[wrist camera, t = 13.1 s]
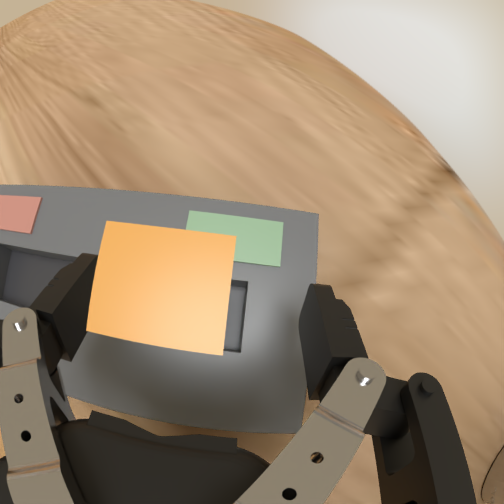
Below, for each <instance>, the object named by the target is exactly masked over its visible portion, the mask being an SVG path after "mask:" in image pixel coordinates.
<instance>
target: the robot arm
mask: <svg viewBox="0 0 504 504" xmlns="http://www.w3.org/2000/svg"><path fill="white" fill-rule="evenodd" d="M97 260H98V255H95V254H89V253H81V254H80V255H79V257H78V258H77V259H76V260H75V261H74V262H73V263H70V264H68V265H67V266H65V267H63V268H62V269H60V270H59V271H58V273H57V274H56V275H55V276H54V277H53V279H52V280H51V281H50V282H49V283H48V286H46V287H45V288H44V289H43V290H42V292H41V293H40V294H39V295H38V297H37V298H36V299H35V300H34V302H33V303H32V304H31V305H30V307H29V308H18V309H15V310H13V311H11V312H10V313H9V314H8V315H7V316H6V317H5V319H0V428H1V434H2V439H3V444H4V449H5V454H6V456H4V457H2V458H1V459H0V504H323V503H324V502H325V501H326V499H327V498H328V496H329V495H330V493H331V492H332V490H333V489H334V487H335V486H336V484H337V483H338V481H339V480H340V478H341V477H342V475H343V473H344V472H345V470H346V468H347V467H348V465H349V463H350V462H351V460H352V458H353V457H354V455H355V453H356V451H357V450H358V448H359V446H360V444H361V442H362V440H363V438H364V436H365V434H369V435H372V440H373V446H374V452H375V458H376V465H377V471H378V479H379V486H380V494H381V503H382V504H476V498H475V494H474V489H473V485H472V480H471V476H470V472H469V468H468V465H467V461H466V457H465V454H464V450H463V447H462V444H461V440H460V437H459V434H458V431H457V428H456V425H455V422H454V419H453V416H452V413H451V411H450V408H449V405H448V402H447V400H446V397H445V394H444V392H443V389H442V387H441V385H440V383H439V382H438V381H437V379H435V378H434V377H433V376H431V375H429V374H427V373H416V374H414V375H413V376H411V378H410V379H409V380H408V381H403V380H399V379H395V378H391V377H387V376H386V375H385V372H384V370H383V369H382V367H381V366H380V365H379V364H377V363H376V362H374V361H373V360H370V359H369V358H368V356H367V353H366V350H365V347H364V344H363V342H362V339H361V336H360V333H359V331H358V329H357V325H356V323H355V321H354V317H353V315H352V312H351V309H350V308H349V307H348V306H347V305H346V304H345V302H344V301H343V300H340V299H336V298H335V295H334V293H333V290H332V287H331V286H330V285H322V284H313V283H311V284H310V285H309V287H308V290H307V294H306V297H305V300H304V303H303V306H302V309H301V313H300V316H299V324H298V329H299V336H300V342H301V348H302V355H303V361H304V368H305V374H306V381H307V388H308V395H309V400H320V404H319V406H318V407H316V409H315V410H314V411H313V413H312V414H311V415H310V417H309V418H308V419H307V421H306V422H305V423H304V425H303V426H302V427H301V428H300V430H299V431H298V432H297V434H296V435H295V436H294V437H293V439H292V440H291V441H290V442H289V443H288V445H287V446H286V447H285V448H284V450H283V451H282V452H281V453H280V454H279V455H278V457H277V458H276V459H275V460H274V461H273V462H272V464H271V465H270V464H269V463H268V462H267V461H265V460H264V459H262V458H261V457H259V456H257V455H255V454H254V453H252V452H249V451H247V450H244V449H241V448H238V447H237V438H226V437H217V436H208V435H200V434H198V435H183V436H157V435H154V434H152V433H150V432H148V431H146V430H144V429H142V428H140V427H138V426H136V425H134V424H132V423H130V422H128V421H126V420H124V419H120V418H116V417H113V416H109V415H106V414H102V413H99V412H96V411H93V410H92V412H91V415H90V417H89V419H77V420H76V419H75V417H74V415H73V413H72V410H71V408H70V405H69V402H68V398H67V395H66V391H65V387H64V384H63V380H62V376H61V371H60V368H59V366H58V363H59V361H60V359H63V360H66V361H69V362H72V360H73V358H74V356H75V354H76V352H77V350H78V349H79V347H80V345H81V343H82V341H83V339H84V337H85V336H86V334H87V332H88V331H86V328H87V320H88V312H89V305H90V298H91V292H92V286H93V280H94V275H95V270H96V265H97ZM482 499H483V500H484V501H485V502H488V503H490V504H504V448H503V449H502V451H501V452H500V453H499V455H498V457H497V458H496V460H495V462H494V463H493V465H492V467H491V469H490V471H489V473H488V475H487V478H486V480H485V483H484V486H483V490H482Z"/></svg>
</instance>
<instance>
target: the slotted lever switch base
mask: <svg viewBox="0 0 504 504" xmlns="http://www.w3.org/2000/svg"><path fill="white" fill-rule="evenodd" d="M318 218H319V214H316V213H310V212H304V211H297V210H291V209H284V208H277V207H270V206H263V205H256V204H248V203H241V202H233V201H225V200H217V199H208V198H199V197H190V196H181V195H171V194H161V193H150V192H138V191H126V190H113V189H99V188H83V187H64V186H39V185H0V319H5V317H6V316H7V315H8V314H9V313H10V312H11V311H13V310H15V309H18V308H29V307H30V305H31V304H32V303H33V302H34V300H35V299H36V298H37V297H38V295H39V294H40V293H41V292H42V290H43V289H44V288H45V287H46V286H48V283H49V282H50V281H51V280H52V279H53V277H54V276H55V275H56V274H57V273H58V271H59V270H60V269H62V268H63V267H65V266H67V265H68V264H70V263H73V262H74V261H75V260H76V259H77V258H78V257H79V255H80V254H81V253H89V254H95V255H99V250H100V246H101V241H102V237H103V233H104V229H105V225H106V221H114V222H123V223H132V224H141V225H150V226H158V227H167V228H175V229H184V230H192V231H200V232H208V233H216V234H224V235H232V236H237V237H236V245H235V253H234V261H233V270H232V278H231V287H230V295H229V304H228V313H227V322H226V331H225V340H224V349H223V356H222V355H214V354H206V353H199V352H192V351H185V350H178V349H172V348H166V347H160V346H155V345H149V344H144V343H139V342H134V341H129V340H124V339H120V338H115V337H110V336H106V335H102V334H98V333H94V332H89V331H88V332H87V334H86V336H85V337H84V339H83V341H82V343H81V345H80V347H79V349H78V350H77V352H76V354H75V356H74V358H73V360H72V362H69V361H66V360H63V359H60V361H59V363H58V366H59V368H60V371H61V376H62V380H63V384H64V387H65V391H66V395H67V396H69V397H72V398H75V399H78V400H81V401H84V402H87V403H90V404H94V405H97V406H100V407H104V408H107V409H111V410H114V411H118V412H122V413H126V414H130V415H134V416H138V417H143V418H147V419H152V420H157V421H162V422H167V423H173V424H179V425H185V426H192V427H199V428H207V429H215V430H225V431H237V432H252V433H285V434H293V433H297V432H298V431H299V430H300V428H301V426H302V419H303V412H304V405H305V397H306V389H307V381H306V374H305V368H304V361H303V355H302V348H301V342H300V336H299V329H298V324H299V316H300V313H301V309H302V306H303V303H304V300H305V297H306V294H307V290H308V287H309V285H310V284H311V283H313V284H316V273H317V251H318Z"/></svg>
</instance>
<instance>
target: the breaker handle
mask: <svg viewBox="0 0 504 504" xmlns="http://www.w3.org/2000/svg"><path fill="white" fill-rule="evenodd" d="M236 237H237V236H232V235H224V234H216V233H208V232H200V231H192V230H184V229H175V228H167V227H158V226H150V225H141V224H132V223H123V222H114V221H106V225H105V229H104V233H103V237H102V241H101V246H100V250H99V255H98V260H97V265H96V270H95V275H94V280H93V286H92V292H91V298H90V305H89V312H88V320H87V328H86V331H89V332H94V333H98V334H102V335H106V336H110V337H115V338H120V339H124V340H129V341H134V342H139V343H144V344H149V345H155V346H160V347H166V348H172V349H178V350H185V351H192V352H199V353H206V354H214V355H222V356H223V349H224V340H225V331H226V322H227V313H228V304H229V295H230V287H231V278H232V270H233V261H234V253H235V245H236Z"/></svg>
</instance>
